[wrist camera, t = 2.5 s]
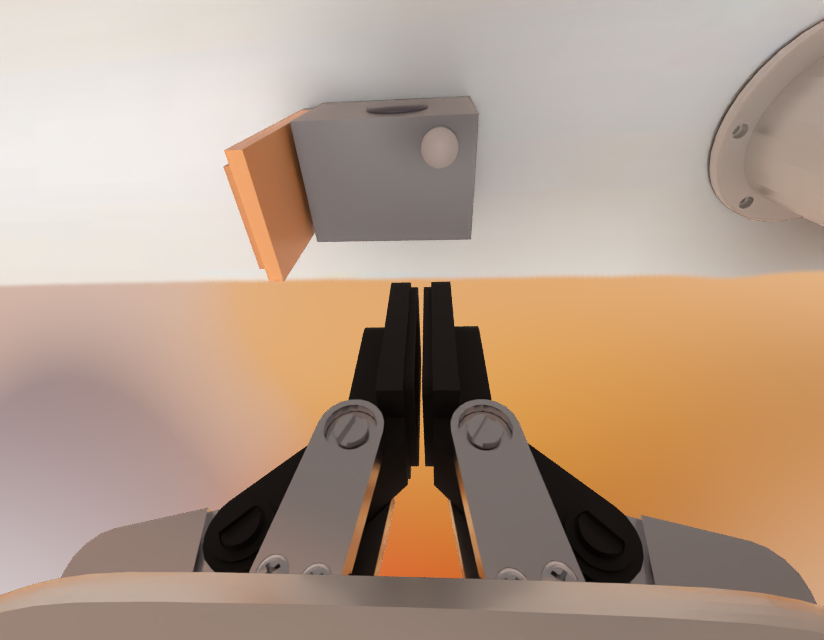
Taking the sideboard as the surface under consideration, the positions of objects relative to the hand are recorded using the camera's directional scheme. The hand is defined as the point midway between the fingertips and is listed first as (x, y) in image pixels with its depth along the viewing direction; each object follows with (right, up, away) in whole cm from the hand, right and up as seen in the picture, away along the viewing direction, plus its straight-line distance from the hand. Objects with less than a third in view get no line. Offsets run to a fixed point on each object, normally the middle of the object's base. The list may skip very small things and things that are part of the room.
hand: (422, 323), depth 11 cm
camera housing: (-1, +12, +16) cm, 20 cm away
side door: (-7, +12, +15) cm, 21 cm away
